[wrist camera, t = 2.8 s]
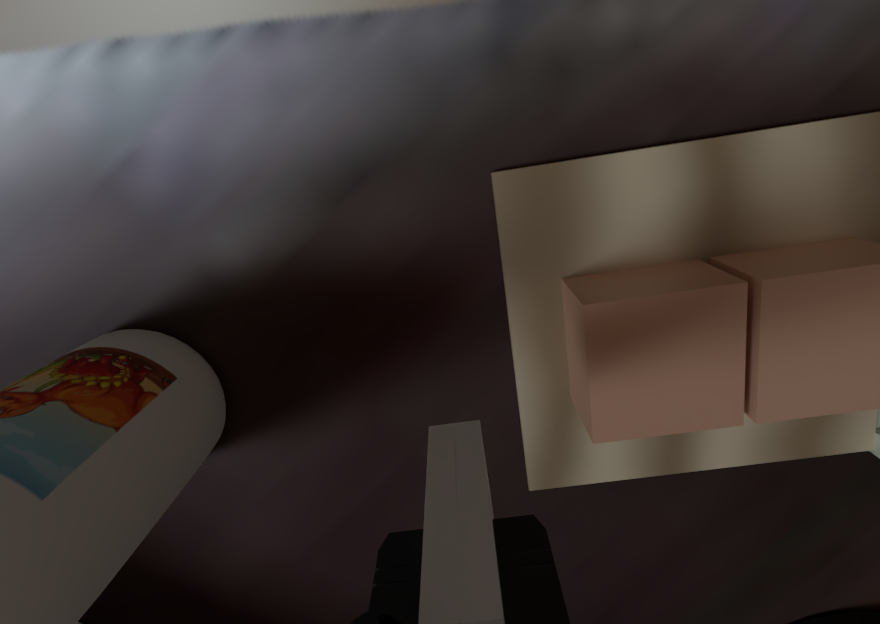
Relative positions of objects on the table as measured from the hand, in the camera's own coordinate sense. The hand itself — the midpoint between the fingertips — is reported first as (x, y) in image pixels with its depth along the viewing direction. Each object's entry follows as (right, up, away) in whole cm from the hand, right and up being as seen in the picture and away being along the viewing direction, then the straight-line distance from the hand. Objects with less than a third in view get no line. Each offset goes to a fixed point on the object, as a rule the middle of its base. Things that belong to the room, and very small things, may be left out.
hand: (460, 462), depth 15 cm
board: (+11, +4, +9) cm, 15 cm away
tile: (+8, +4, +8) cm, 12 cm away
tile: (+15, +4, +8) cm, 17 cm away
